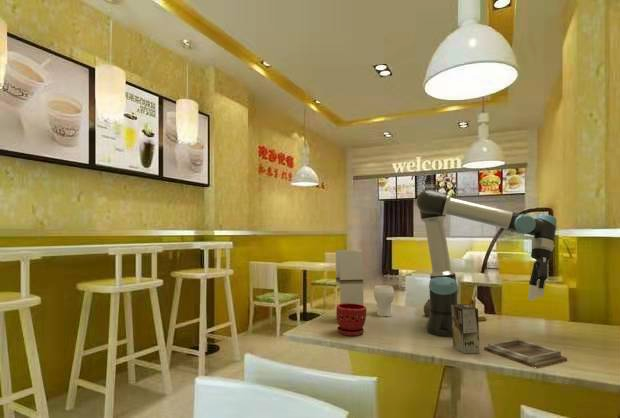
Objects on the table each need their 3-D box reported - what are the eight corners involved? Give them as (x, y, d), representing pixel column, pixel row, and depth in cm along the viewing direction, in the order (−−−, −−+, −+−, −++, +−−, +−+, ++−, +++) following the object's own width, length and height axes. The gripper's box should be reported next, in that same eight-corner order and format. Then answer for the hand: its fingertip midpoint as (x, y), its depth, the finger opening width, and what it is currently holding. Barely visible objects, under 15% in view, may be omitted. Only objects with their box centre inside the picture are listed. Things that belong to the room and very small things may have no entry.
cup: (390, 318, 182) (389, 288, 183) (371, 315, 188) (370, 287, 189) (397, 314, 191) (396, 286, 192) (378, 312, 197) (378, 284, 198)
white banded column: (357, 317, 184) (356, 250, 186) (363, 323, 173) (362, 251, 175) (336, 318, 182) (335, 250, 184) (340, 324, 172) (340, 251, 174)
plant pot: (345, 339, 148) (345, 309, 149) (331, 330, 160) (331, 304, 161) (372, 335, 153) (371, 307, 153) (357, 327, 165) (356, 301, 166)
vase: (438, 318, 182) (438, 301, 182) (424, 317, 183) (424, 300, 184) (436, 315, 188) (436, 298, 189) (423, 314, 190) (422, 298, 190)
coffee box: (480, 353, 129) (479, 308, 130) (463, 353, 129) (462, 309, 130) (467, 345, 139) (466, 303, 140) (451, 345, 138) (450, 304, 139)
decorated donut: (469, 322, 175) (469, 314, 175) (460, 316, 186) (459, 309, 186) (490, 321, 175) (490, 314, 176) (480, 316, 186) (479, 309, 186)
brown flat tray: (484, 349, 133) (483, 342, 133) (513, 344, 140) (512, 337, 140) (536, 368, 115) (535, 360, 115) (567, 360, 121) (566, 353, 122)
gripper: (561, 245, 140) (554, 297, 135) (544, 258, 163) (538, 304, 157) (539, 240, 143) (531, 292, 138) (526, 254, 166) (519, 299, 160)
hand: (535, 298), depth 148 cm, fingers open, 13 cm apart
